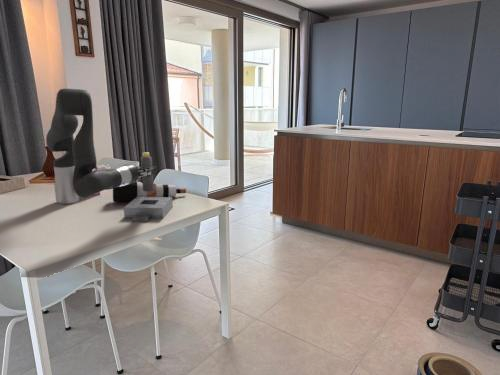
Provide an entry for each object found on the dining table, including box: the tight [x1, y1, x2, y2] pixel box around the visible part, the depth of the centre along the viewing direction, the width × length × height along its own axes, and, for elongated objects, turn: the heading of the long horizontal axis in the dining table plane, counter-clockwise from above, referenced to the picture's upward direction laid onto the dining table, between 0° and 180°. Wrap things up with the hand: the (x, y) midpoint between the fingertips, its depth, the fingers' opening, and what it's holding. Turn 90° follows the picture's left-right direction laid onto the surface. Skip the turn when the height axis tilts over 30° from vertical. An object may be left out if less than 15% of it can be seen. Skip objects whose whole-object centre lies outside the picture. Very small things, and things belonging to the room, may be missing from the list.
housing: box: [123, 197, 174, 223], centre depth 151 cm, size 16×24×4 cm, turn 178°
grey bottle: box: [140, 152, 154, 191], centre depth 147 cm, size 4×4×16 cm
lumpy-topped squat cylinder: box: [96, 163, 111, 171], centre depth 212 cm, size 10×13×9 cm
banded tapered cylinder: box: [112, 180, 187, 203], centre depth 170 cm, size 10×34×10 cm, turn 114°
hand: (150, 168), depth 150 cm, fingers closed on grey bottle, 4 cm apart
